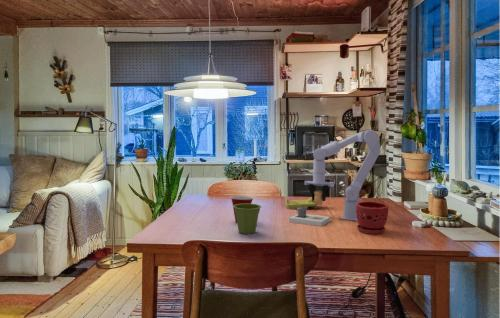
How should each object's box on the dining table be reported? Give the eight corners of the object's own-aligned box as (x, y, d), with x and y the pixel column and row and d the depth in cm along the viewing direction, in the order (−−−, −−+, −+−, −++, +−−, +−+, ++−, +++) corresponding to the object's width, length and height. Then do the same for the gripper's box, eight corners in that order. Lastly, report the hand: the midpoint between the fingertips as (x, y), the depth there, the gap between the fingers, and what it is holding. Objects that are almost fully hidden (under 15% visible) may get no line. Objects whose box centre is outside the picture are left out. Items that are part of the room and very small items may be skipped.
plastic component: (285, 205, 228) (285, 194, 237) (286, 216, 232) (286, 204, 241) (322, 203, 226) (321, 192, 234) (323, 214, 229) (322, 203, 238)
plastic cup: (257, 220, 201) (257, 195, 200) (245, 225, 191) (245, 199, 191) (238, 218, 206) (238, 193, 205) (225, 222, 197) (225, 197, 196)
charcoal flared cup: (308, 220, 202) (308, 207, 202) (304, 222, 198) (304, 209, 198) (299, 219, 205) (299, 206, 204) (295, 221, 201) (295, 208, 200)
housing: (330, 221, 201) (330, 216, 200) (321, 226, 190) (321, 221, 190) (299, 217, 209) (299, 213, 209) (288, 222, 199) (288, 217, 198)
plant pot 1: (237, 236, 173) (237, 209, 172) (230, 229, 184) (230, 204, 183) (264, 234, 176) (265, 207, 175) (256, 227, 187) (256, 202, 186)
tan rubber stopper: (324, 203, 209) (325, 191, 209) (320, 205, 205) (321, 193, 205) (315, 202, 212) (316, 190, 211) (311, 203, 208) (312, 191, 207)
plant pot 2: (349, 231, 181) (350, 203, 180) (365, 226, 190) (366, 200, 189) (377, 237, 172) (378, 208, 171) (393, 231, 181) (394, 204, 180)
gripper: (302, 172, 207) (301, 200, 208) (330, 174, 200) (330, 203, 201) (307, 171, 213) (307, 198, 214) (335, 173, 206) (335, 200, 207)
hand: (318, 200), depth 208 cm, fingers closed on tan rubber stopper, 5 cm apart
